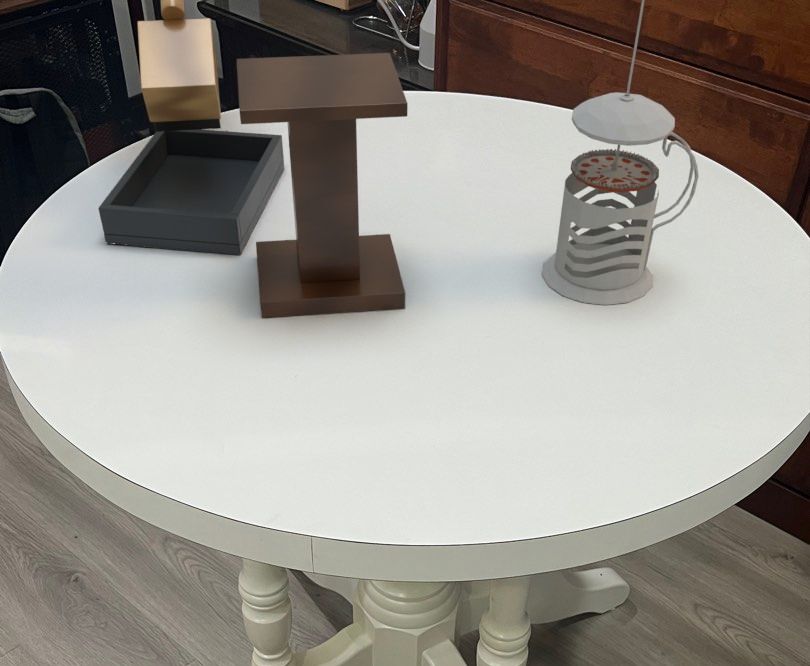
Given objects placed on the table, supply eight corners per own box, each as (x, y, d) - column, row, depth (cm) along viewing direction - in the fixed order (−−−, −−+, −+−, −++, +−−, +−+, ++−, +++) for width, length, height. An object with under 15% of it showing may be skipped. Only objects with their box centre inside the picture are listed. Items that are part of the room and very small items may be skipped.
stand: (261, 318, 82) (239, 110, 70) (257, 256, 89) (236, 58, 77) (405, 308, 83) (407, 102, 71) (389, 248, 90) (389, 52, 78)
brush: (153, 136, 92) (137, 76, 84) (143, -33, 97) (127, -104, 89) (223, 133, 93) (213, 72, 85) (210, -35, 97) (199, -106, 90)
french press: (536, 246, 91) (572, -64, 73) (662, 247, 91) (729, -62, 73) (547, 304, 84) (589, -23, 66) (683, 305, 84) (762, -20, 66)
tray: (240, 255, 89) (236, 218, 87) (105, 244, 90) (97, 208, 88) (284, 168, 102) (282, 134, 99) (165, 160, 103) (159, 126, 100)
